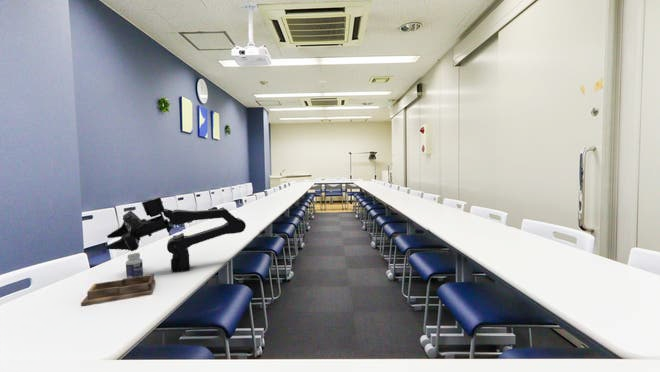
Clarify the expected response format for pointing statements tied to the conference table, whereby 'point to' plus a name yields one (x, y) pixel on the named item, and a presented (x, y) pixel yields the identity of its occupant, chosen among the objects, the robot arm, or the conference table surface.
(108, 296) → the keyhole track
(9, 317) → the conference table surface
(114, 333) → the conference table surface
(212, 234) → the robot arm
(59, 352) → the conference table surface
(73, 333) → the conference table surface
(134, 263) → the pill bottle
